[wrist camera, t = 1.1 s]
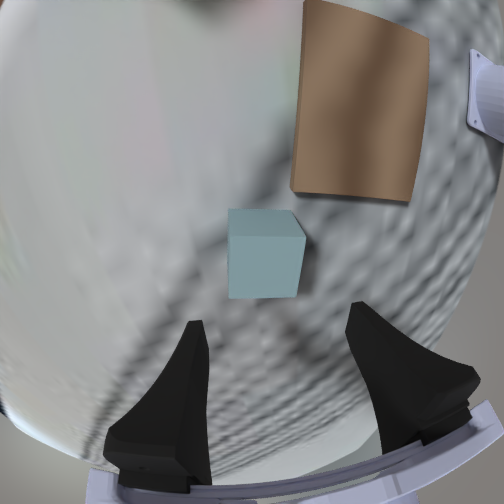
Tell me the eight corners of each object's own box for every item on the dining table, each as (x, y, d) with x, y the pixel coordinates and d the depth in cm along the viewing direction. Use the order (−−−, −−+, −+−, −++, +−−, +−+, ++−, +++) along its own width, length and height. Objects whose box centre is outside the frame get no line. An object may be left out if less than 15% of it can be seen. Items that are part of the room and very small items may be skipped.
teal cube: (290, 209, 20) (306, 237, 16) (283, 262, 22) (295, 297, 19) (228, 208, 20) (229, 236, 16) (227, 262, 22) (228, 298, 18)
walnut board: (421, 40, 14) (429, 38, 13) (403, 197, 20) (410, 201, 20) (303, 2, 12) (307, -3, 12) (289, 187, 19) (292, 191, 18)
